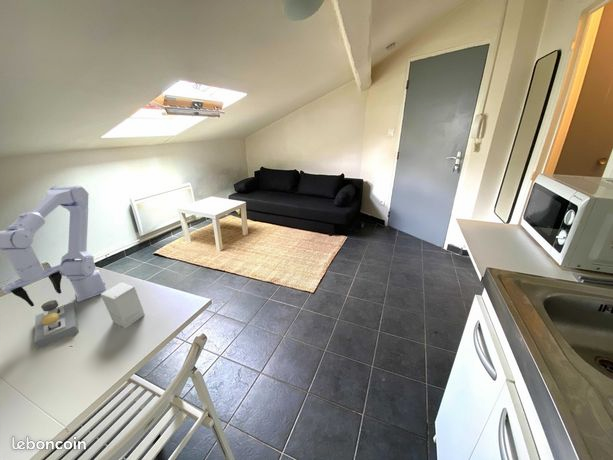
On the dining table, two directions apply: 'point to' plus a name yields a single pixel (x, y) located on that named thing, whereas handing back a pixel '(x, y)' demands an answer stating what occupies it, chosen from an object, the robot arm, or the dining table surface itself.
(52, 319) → the knob
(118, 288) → the supplement box
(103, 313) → the dining table surface
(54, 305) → the knob
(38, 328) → the mount plate
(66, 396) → the dining table surface
